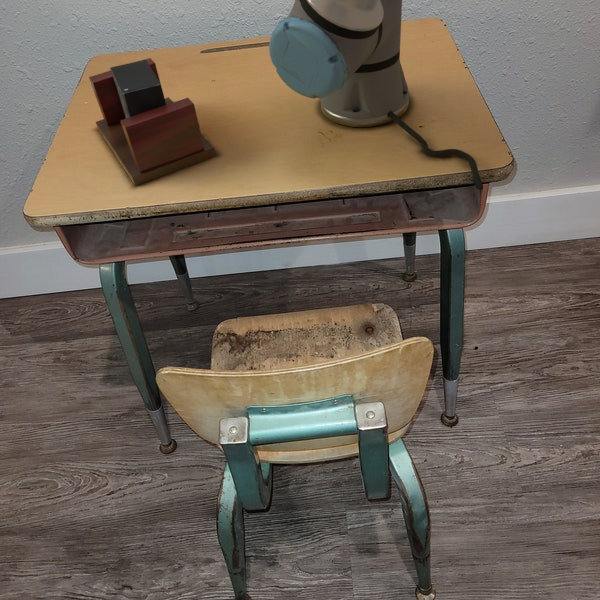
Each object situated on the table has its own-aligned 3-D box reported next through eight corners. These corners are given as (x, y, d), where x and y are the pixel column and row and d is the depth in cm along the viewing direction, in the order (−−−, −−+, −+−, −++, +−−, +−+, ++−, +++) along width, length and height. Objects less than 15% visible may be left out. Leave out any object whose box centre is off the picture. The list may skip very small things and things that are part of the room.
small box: (178, 143, 98) (162, 82, 90) (140, 154, 97) (120, 94, 89) (163, 115, 105) (146, 56, 97) (127, 125, 104) (107, 67, 96)
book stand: (216, 155, 97) (204, 101, 90) (135, 186, 93) (116, 132, 86) (170, 104, 110) (157, 54, 104) (98, 129, 107) (79, 78, 100)
